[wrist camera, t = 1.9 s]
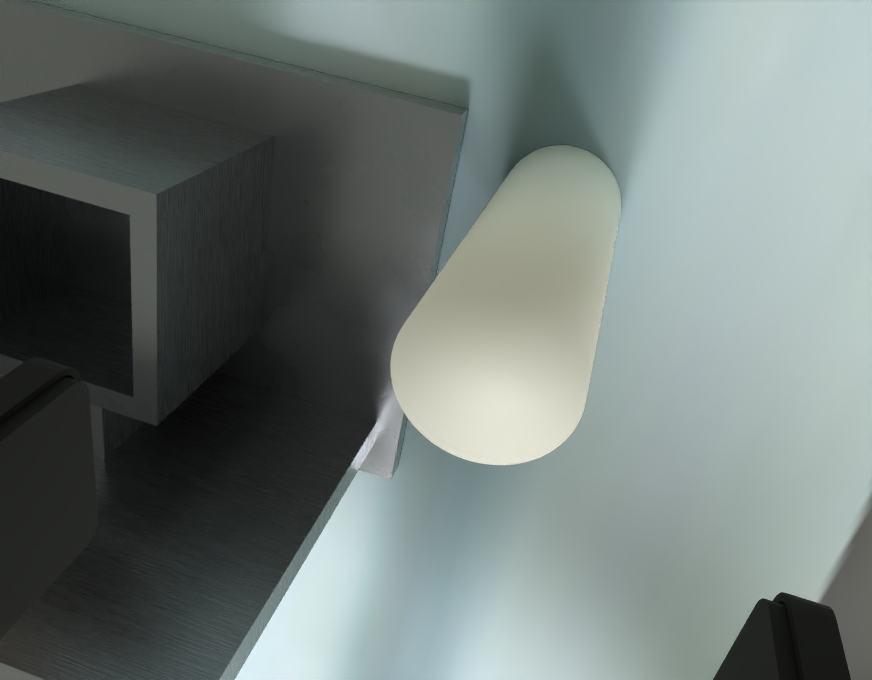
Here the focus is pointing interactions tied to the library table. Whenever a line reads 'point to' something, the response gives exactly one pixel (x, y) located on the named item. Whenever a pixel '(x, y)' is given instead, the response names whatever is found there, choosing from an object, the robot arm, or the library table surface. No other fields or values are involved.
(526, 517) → the library table surface
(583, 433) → the library table surface
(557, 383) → the off-white rounded cylinder
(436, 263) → the cup bracket
